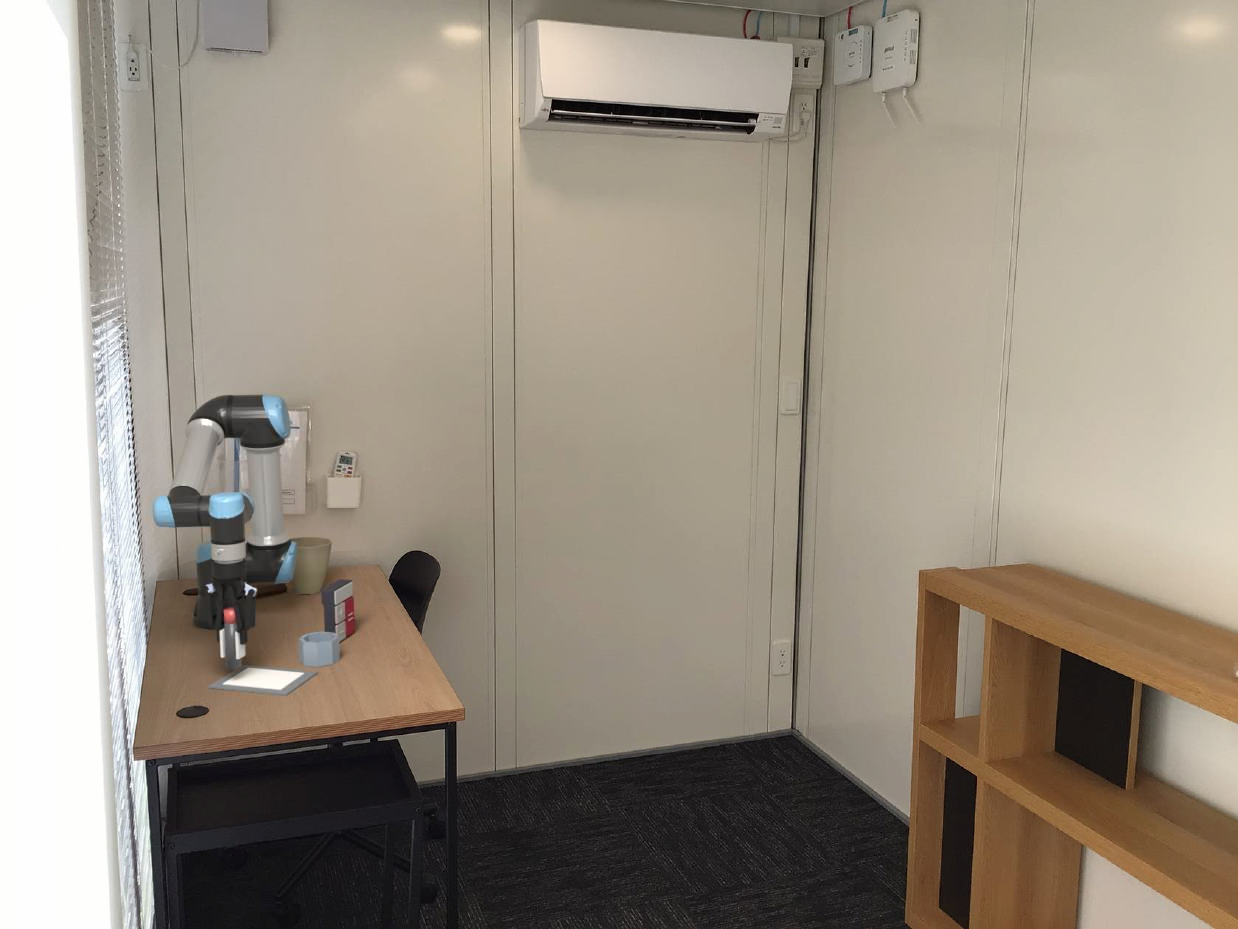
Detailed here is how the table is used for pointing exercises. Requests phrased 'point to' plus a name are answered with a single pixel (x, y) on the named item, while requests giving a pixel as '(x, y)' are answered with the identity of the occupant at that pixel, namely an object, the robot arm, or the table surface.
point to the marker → (230, 639)
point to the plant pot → (310, 564)
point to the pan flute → (268, 589)
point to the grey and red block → (339, 608)
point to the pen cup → (319, 649)
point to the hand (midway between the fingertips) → (233, 656)
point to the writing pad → (264, 680)
